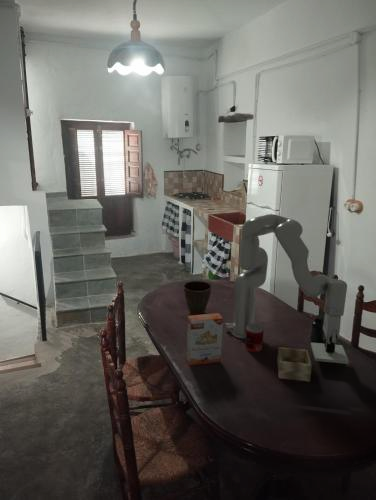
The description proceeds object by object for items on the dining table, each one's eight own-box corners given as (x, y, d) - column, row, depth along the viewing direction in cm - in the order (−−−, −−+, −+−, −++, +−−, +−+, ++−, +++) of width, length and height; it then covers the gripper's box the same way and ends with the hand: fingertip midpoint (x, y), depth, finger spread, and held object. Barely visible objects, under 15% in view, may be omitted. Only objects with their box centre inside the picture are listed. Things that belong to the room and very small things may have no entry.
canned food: (263, 346, 178) (264, 325, 175) (260, 355, 171) (262, 333, 168) (246, 343, 180) (248, 322, 177) (243, 352, 173) (244, 330, 170)
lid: (315, 360, 157) (317, 342, 155) (310, 344, 170) (312, 328, 167) (348, 363, 155) (351, 345, 153) (341, 347, 167) (344, 330, 165)
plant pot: (211, 319, 204) (212, 291, 200) (183, 318, 205) (183, 290, 200) (210, 307, 219) (210, 281, 215) (183, 307, 219) (184, 280, 215)
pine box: (278, 380, 153) (280, 362, 151) (276, 363, 164) (278, 347, 162) (309, 383, 151) (311, 365, 149) (305, 366, 163) (307, 349, 160)
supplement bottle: (325, 344, 181) (328, 321, 178) (310, 342, 182) (312, 319, 179) (323, 337, 188) (326, 314, 184) (308, 335, 189) (311, 313, 186)
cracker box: (189, 366, 161) (190, 321, 155) (186, 359, 167) (187, 315, 161) (221, 362, 164) (223, 318, 159) (217, 355, 170) (218, 312, 164)
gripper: (321, 301, 165) (317, 339, 170) (328, 317, 150) (323, 359, 155) (339, 302, 164) (334, 341, 169) (348, 318, 149) (342, 361, 153)
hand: (329, 349), depth 162 cm, fingers closed on lid, 3 cm apart
